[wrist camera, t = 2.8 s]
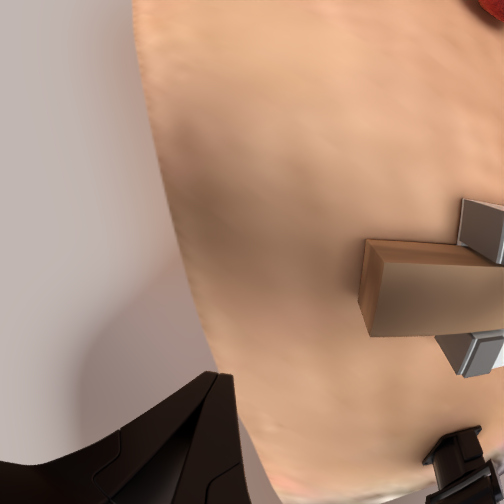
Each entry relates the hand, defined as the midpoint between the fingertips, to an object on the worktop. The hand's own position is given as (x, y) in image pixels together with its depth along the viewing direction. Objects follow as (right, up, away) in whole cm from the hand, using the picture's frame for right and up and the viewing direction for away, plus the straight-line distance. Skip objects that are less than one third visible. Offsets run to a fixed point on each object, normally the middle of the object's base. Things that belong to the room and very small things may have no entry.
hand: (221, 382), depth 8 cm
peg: (+12, +2, +7) cm, 15 cm away
